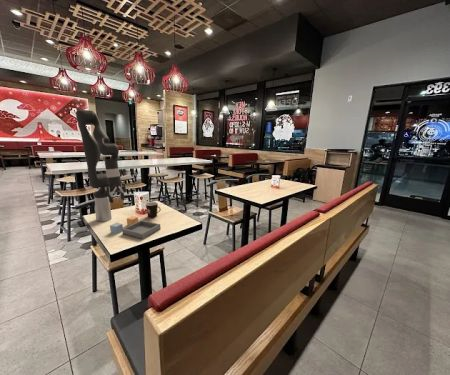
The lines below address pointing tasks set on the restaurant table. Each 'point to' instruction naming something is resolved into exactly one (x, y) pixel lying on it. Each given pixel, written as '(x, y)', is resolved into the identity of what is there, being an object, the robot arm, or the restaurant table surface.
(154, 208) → the coffee mug
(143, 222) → the tray
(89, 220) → the restaurant table surface
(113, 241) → the restaurant table surface
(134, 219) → the orange block
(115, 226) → the blue block
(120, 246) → the restaurant table surface
